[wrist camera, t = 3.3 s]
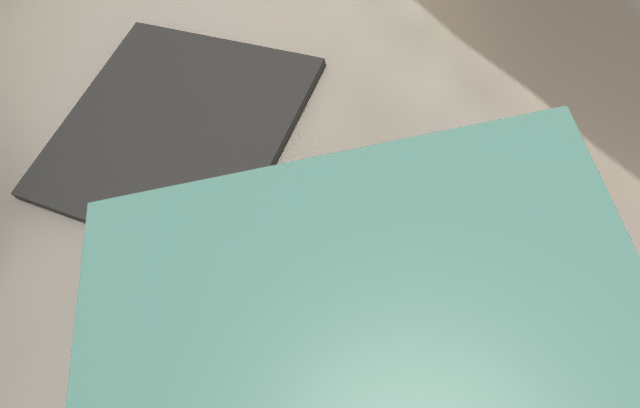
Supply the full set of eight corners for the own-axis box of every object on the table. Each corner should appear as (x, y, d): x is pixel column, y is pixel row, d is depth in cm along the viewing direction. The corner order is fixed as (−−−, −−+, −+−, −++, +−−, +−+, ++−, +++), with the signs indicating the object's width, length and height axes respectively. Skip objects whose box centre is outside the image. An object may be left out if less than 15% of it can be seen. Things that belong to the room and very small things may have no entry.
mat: (17, 198, 26) (10, 193, 25) (140, 28, 30) (136, 22, 30) (221, 271, 22) (217, 267, 22) (325, 65, 27) (324, 58, 26)
